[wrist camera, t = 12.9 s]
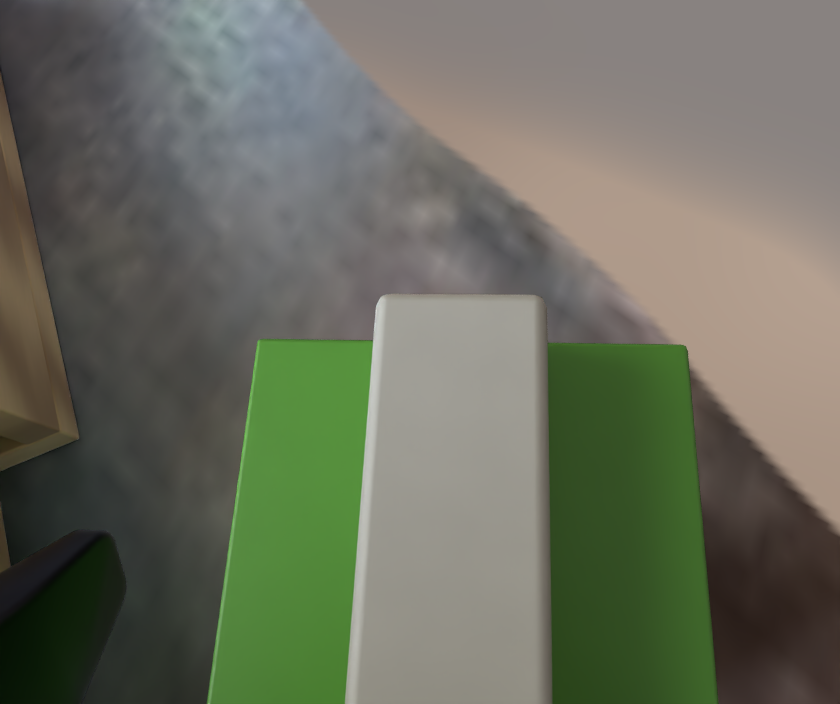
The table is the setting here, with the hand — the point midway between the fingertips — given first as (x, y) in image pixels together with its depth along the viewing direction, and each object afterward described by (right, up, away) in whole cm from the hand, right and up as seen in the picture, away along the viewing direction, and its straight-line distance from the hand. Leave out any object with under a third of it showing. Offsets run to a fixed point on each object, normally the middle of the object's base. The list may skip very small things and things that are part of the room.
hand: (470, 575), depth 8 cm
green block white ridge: (+1, -3, +6) cm, 6 cm away
